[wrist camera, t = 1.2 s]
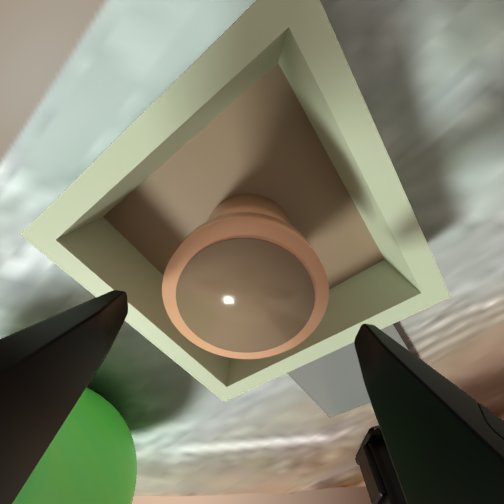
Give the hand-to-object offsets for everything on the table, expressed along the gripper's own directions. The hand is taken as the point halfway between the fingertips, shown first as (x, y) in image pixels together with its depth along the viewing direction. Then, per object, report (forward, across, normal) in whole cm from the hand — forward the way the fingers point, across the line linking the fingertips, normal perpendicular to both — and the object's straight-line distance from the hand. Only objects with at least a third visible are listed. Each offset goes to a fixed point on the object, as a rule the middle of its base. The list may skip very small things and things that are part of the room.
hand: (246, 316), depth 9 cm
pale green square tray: (+8, 0, 0) cm, 8 cm away
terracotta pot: (+8, 0, 0) cm, 8 cm away
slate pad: (+8, -11, +11) cm, 18 cm away
